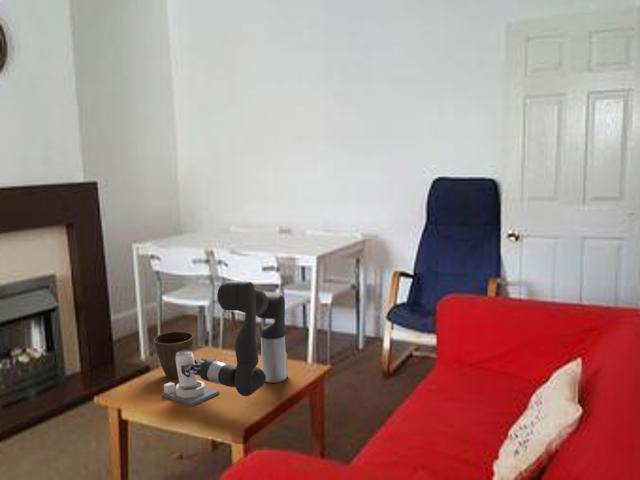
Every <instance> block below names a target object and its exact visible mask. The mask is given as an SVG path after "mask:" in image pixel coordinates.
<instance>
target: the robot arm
mask: <svg viewBox="0 0 640 480" xmlns="http://www.w3.org/2000/svg"><path fill="white" fill-rule="evenodd" d="M216 295H217V296H216V297H217V302H218V304H219V306H220V307H221V309H223V310H224V311H230V312H231V311H232V312H233V311H237V312H240V313H243V314H245V317H244V322H243V324H242V326H241V328H240V330H239V332H238V334H237V336H236V338H235V342H234V352H235V356H236V366H235V365H231V364H228V363H226V362H223V361H219V360H216V359H213V358H204V357H202V358H200V359H198V358H197V359H194V361H195V363H191V364H189V365H186V366H181V370H182V374H184V375H185V376H186V377H190V374H195V375H197V376H199V377H200V378H201V379H202V380H203V381H206V382H209V383H211V384H216V385H221V386H222V385H223V386H225V387H230V388H235V390H236V392H237V393H238V394H239V395H240V396H242V397H249V396H251V395H253V394H255V392H256V391H258V390H260V389H261V388H262V387H263V386H264V385H265V383H269V384H270V383H273V384H274V383H276V384H277V383H280V382H283V381H285V380H286V379H287V377H289V370H288V352H286V331H285V329H286V325H285V324H286V321H285V320H286V319H285V318H286V316H285V315H286V302H285V297H284V296H283V295H282V294H269V293H268V294H266V293H265V292H264V291H263V290H261V289H259V288H255V286H254V284H253V283H252V282H251V281H248V280H245V281H244V280H242V281H241V280H235V281H233V280H231V281H229V280H228V281H225V282H223V283H222V284H220V285H219V288H218V289H217V294H216ZM257 317H258V318H259V319H264V320H268V319H269V320H272V319H274V322H273V323H271V324H269V325H265V326H263V327H261V329H260V345H261V346H260V348H261V349H260V350H261V351H260V352H261V368H260V367H257V365H258V364H259V353H258V345H257V339H256V338H257V336H256V335H257V334H256V333H257V332H256V330H257V328H256V327H257ZM187 367H189V369H188V368H187Z"/></svg>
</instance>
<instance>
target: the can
mask: <svg viewBox="0 0 640 480" xmlns="http://www.w3.org/2000/svg"><path fill="white" fill-rule="evenodd" d="M192 351H193V350H192ZM192 351H191V350H182V351H179V352H177V353H176V358H175V359H176V366H177V372H178V378H179V379H178V384H180V386H181V387H190V386H193V385H195V384H197V382H198V381H197V380H198V375H195V374H190V377H186V376H185V375H184V374H182V370H181V366H186V365H189V364H191V363H195V361H194V360H195V356H194V354H193V352H192ZM187 368H188V369H189V367H187Z"/></svg>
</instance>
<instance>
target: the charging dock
mask: <svg viewBox="0 0 640 480" xmlns="http://www.w3.org/2000/svg"><path fill="white" fill-rule="evenodd" d="M197 381H198V382H197V384H195V385H193V386H190V387H181V386H180V384H179V383H177V384H175V383H174V382H171V381H170V382H169V381H168V383H165V384H163V392H162V393H161V395H162V397H164V398H167V399H169V400H173V401H175V402H178V403H181V404H184V405H186V406H189V407H193V406H196V405H199V404H201V403H203V402H205V401H207V400H209V399H211V398H213V397H216V396H218V395H220V390H217V389H215V388H211V387H207V386H206V385H205V382H204V381H201V380H199V379H197Z"/></svg>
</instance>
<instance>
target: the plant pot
mask: <svg viewBox="0 0 640 480" xmlns="http://www.w3.org/2000/svg"><path fill="white" fill-rule="evenodd" d="M193 341H194V335H193V333H190V332H188V331H171V332H166V333H163V334H162V333H161V334H159V335H157V336H155V337H154V339H153V342H154V346H155V351H156V354H157V357H158V360H159V363H160V366H161V368H162V371H163V372H164V374H165V376H166V378H167V379H168V380H171V381H172V380H173V381H174V380H175V381H176V380H179V378H178V372H177V366H176V359H175V358H176V353H177V352H179V351H182V350H191V351H193Z"/></svg>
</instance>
